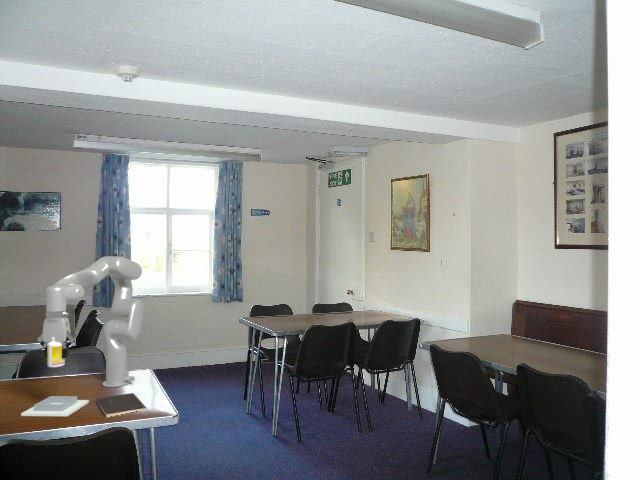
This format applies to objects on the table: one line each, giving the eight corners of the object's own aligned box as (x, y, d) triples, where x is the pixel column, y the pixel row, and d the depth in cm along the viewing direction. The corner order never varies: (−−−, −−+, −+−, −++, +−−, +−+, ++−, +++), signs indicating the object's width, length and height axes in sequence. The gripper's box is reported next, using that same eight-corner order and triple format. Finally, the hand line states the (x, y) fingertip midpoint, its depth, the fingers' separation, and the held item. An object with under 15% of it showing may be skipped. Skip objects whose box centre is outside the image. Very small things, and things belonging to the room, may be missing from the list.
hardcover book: (105, 419, 204) (105, 413, 204) (96, 403, 224) (96, 398, 224) (146, 412, 213) (146, 406, 213) (134, 397, 232) (134, 392, 232)
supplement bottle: (68, 364, 218) (68, 334, 218) (55, 368, 212) (55, 337, 212) (56, 363, 220) (56, 333, 220) (43, 367, 214) (43, 336, 214)
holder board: (88, 402, 224) (88, 394, 224) (67, 416, 206) (67, 407, 206) (46, 401, 225) (46, 394, 225) (21, 415, 207) (21, 407, 207)
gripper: (80, 313, 219) (80, 355, 219) (41, 313, 220) (41, 355, 220) (71, 316, 212) (71, 359, 212) (30, 316, 213) (30, 359, 212)
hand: (56, 357), depth 216 cm, fingers closed on supplement bottle, 6 cm apart
